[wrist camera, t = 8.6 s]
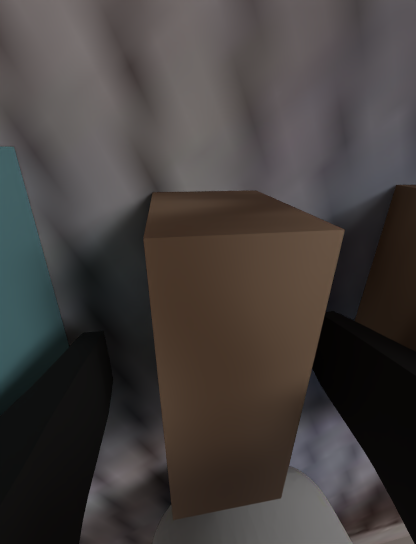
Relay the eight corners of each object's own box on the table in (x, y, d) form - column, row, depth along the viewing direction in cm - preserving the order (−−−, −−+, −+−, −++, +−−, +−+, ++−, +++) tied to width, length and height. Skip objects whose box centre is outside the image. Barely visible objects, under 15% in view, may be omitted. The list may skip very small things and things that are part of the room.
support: (254, 189, 9) (344, 229, 5) (239, 377, 13) (281, 498, 8) (153, 191, 9) (143, 238, 4) (168, 386, 12) (173, 520, 8)
